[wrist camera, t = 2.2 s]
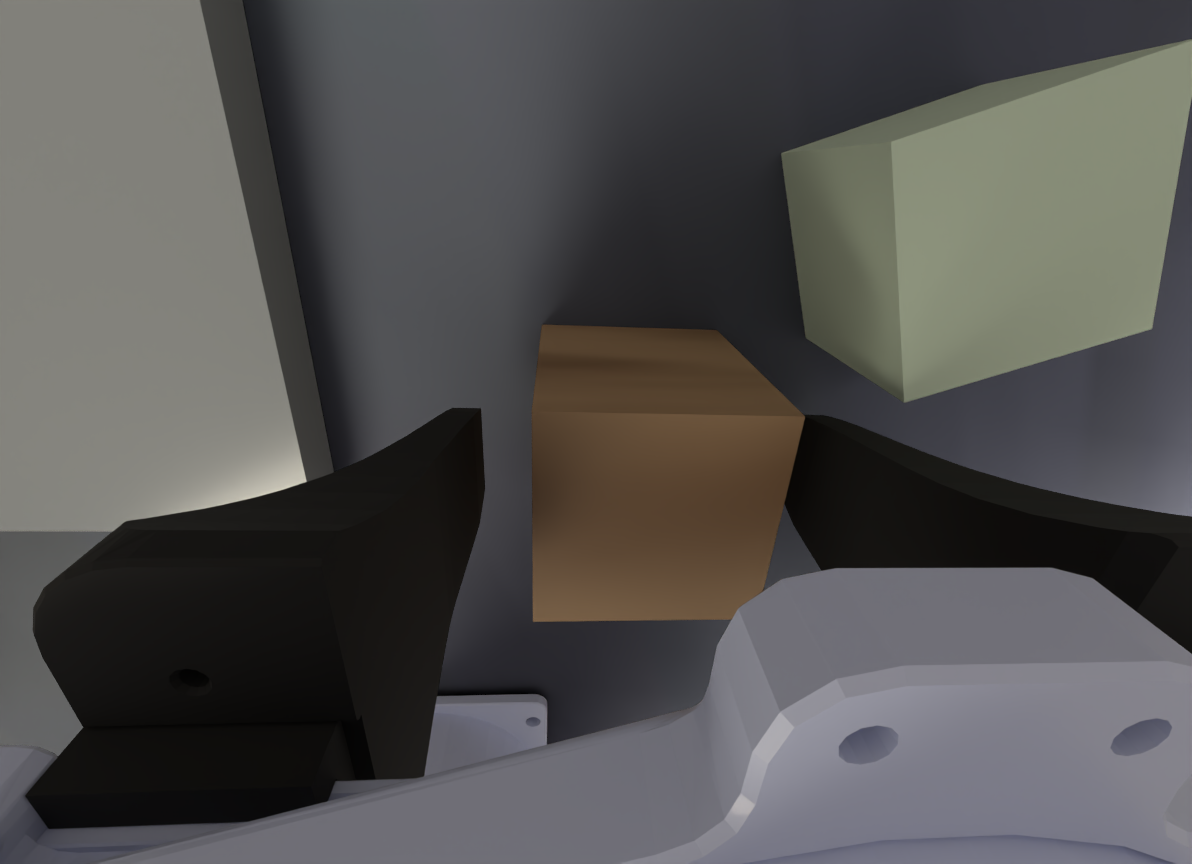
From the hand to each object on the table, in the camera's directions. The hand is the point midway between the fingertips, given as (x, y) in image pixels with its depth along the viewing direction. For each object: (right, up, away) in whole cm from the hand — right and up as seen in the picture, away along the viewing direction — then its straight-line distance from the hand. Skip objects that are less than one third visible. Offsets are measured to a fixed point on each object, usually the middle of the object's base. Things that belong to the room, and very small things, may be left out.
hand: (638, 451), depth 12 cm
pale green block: (+6, +5, +1) cm, 8 cm away
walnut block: (0, +1, +2) cm, 3 cm away
